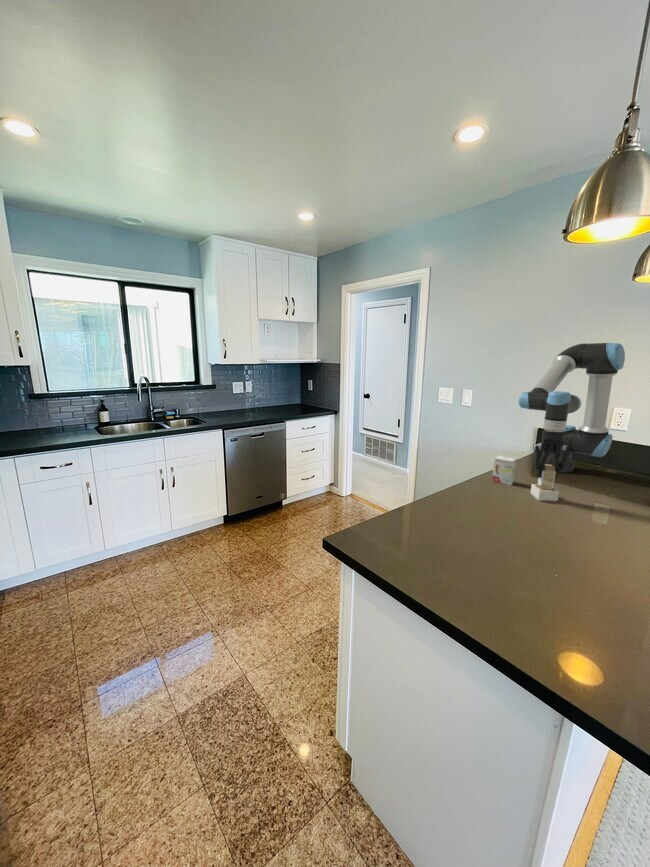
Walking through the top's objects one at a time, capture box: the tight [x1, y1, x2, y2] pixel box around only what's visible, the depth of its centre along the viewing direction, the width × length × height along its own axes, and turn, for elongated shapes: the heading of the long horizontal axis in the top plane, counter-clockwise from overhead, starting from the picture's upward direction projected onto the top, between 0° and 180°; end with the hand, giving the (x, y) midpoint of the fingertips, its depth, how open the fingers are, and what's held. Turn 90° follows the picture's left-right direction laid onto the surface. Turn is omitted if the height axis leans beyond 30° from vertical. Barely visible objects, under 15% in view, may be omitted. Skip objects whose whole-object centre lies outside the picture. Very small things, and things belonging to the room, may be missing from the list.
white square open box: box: [529, 483, 560, 503], centre depth 147 cm, size 7×7×4 cm
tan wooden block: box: [538, 464, 555, 491], centre depth 145 cm, size 4×4×12 cm
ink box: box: [491, 455, 517, 486], centre depth 164 cm, size 9×5×12 cm, turn 50°
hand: (545, 484), depth 146 cm, fingers closed on tan wooden block, 3 cm apart
